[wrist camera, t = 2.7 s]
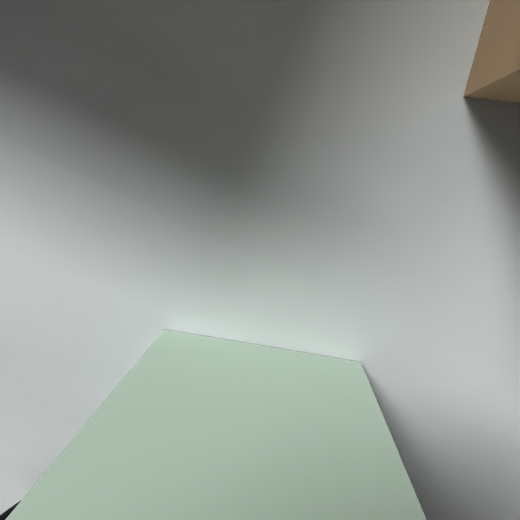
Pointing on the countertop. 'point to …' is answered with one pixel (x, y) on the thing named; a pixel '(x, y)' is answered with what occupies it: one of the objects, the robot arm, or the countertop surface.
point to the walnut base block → (497, 55)
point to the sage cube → (230, 442)
